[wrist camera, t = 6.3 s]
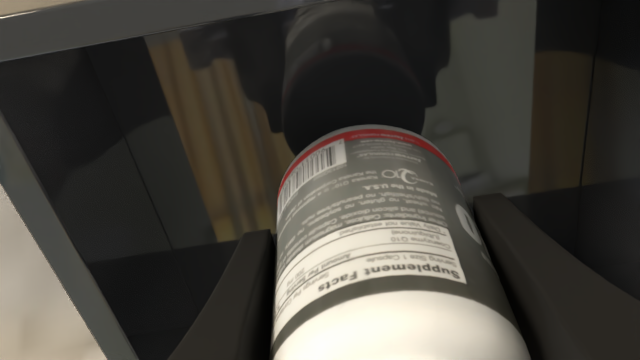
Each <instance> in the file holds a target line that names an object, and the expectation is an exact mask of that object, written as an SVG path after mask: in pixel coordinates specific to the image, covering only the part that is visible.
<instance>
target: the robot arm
mask: <svg viewBox="0 0 640 360" xmlns="http://www.w3.org/2000/svg"><path fill="white" fill-rule="evenodd" d="M473 210H474V220H475V223H476V225H477V227H478V229H479V231H480V234H481V236H482V239H483V241H484V243H485V245H486V247H487V250H488V253H489V256H490V259H491V261H492V263H493V265H494V268H495V270H496V272H497V275H498V277H499V280H500V282H501V285H502V287H503V289H504V291H505V294H506V296H507V299H508V301H509V304H510V306H511V309H512V311H513V313H514V316H515V318H516V320H517V323H518V325H519V328H520V330H521V333H522V336H523V338H524V341H525V343H526V346H527V349H528V352H529V354H530V357H531V360H640V301H639V300H637V299H635V298H634V297H632V296H630V295H629V294H627V293H626V292H624V291H622V290H621V289H619V288H618V287H616V286H614V285H613V284H611V283H610V282H608V281H607V280H605V279H604V278H603V277H601V276H600V275H598V274H597V273H595V272H594V271H593V270H591V269H590V268H589V267H587V266H586V265H585V264H583V263H582V262H580V261H579V260H578V259H577V258H575V257H574V256H573V255H571V254H570V253H569V252H568V251H566V250H565V249H564V248H563V247H561V246H560V245H559V244H558V243H557V242H555V241H554V240H553V239H552V238H551V237H549V236H548V235H547V234H546V233H545V232H543V231H542V230H541V229H540V228H539V227H538V226H537V225H535V224H534V223H533V222H532V221H531V220H530V219H529V218H528V217H527V216H525V215H524V214H523V213H522V212H521V211H520V210H519V209H518V208H517V207H516V206H515V205H514V204H513V203H512V202H511V201H510V200H508V199H507V198H506V197H505V196H504V195H503V194H501V193H493V194H487V195H481V196H474V197H473ZM274 265H275V244H274V241H273V237H272V234H271V230H270V229H265V230H259V231H252V232H246V233H244V234H243V236H242V237H241V239H240V241H239V243H238V245H237V247H236V249H235V251H234V253H233V255H232V257H231V259H230V261H229V263H228V265H227V267H226V269H225V271H224V273H223V275H222V277H221V278H220V280H219V282H218V284H217V285H216V287H215V289H214V291H213V293H212V294H211V296H210V298H209V299H208V301H207V303H206V304H205V306H204V308H203V309H202V311H201V312H200V314H199V315H198V317H197V318H196V320H195V322H194V323H193V325H192V326H191V328H190V329H189V331H188V332H187V334H186V335H185V337H184V338H183V339H182V341H181V342H180V344H179V345H178V346H177V348H176V349H175V350H174V352H173V353H172V354H171V355H170V357H169V358H168V359H167V360H269V354H270V340H271V323H272V306H273V287H274Z"/></svg>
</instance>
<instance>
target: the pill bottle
mask: <svg viewBox="0 0 640 360" xmlns="http://www.w3.org/2000/svg"><path fill="white" fill-rule="evenodd" d="M269 360H531V357H530V354H529V352H528V349H527V346H526V343H525V341H524V338H523V336H522V333H521V330H520V328H519V325H518V323H517V320H516V318H515V316H514V313H513V311H512V309H511V306H510V304H509V301H508V299H507V296H506V294H505V291H504V289H503V287H502V285H501V282H500V280H499V277H498V275H497V272H496V270H495V268H494V265H493V263H492V261H491V259H490V256H489V253H488V250H487V247H486V245H485V243H484V241H483V239H482V236H481V234H480V231H479V229H478V227H477V225H476V223H475V220H474V218H473V215H472V213H471V210H470V208H469V205H468V203H467V201H466V198H465V196H464V194H463V191H462V188H461V186H460V183H459V180H458V178H457V175H456V173H455V171H454V170H453V168H452V166H451V164H450V163H449V161H448V160H447V158H446V157H445V156H444V154H443V153H442V152H441V151H440V150H439V149H438V148H437V147H436V146H435V145H434V144H432V143H431V142H430V141H428V140H427V139H425V138H424V137H422V136H420V135H418V134H416V133H414V132H411V131H408V130H405V129H402V128H398V127H393V126H386V125H376V124H367V125H357V126H350V127H346V128H342V129H338V130H336V131H333V132H331V133H328V134H326V135H324V136H322V137H321V138H319V139H317V140H316V141H314V142H313V143H311V144H310V145H309V146H307V147H306V148H305V149H304V150H303V151H301V152H300V153H299V154H298V155H297V157H296V158H295V159H294V160H293V161H292V163H291V164H290V166H289V167H288V169H287V171H286V172H285V174H284V177H283V179H282V181H281V184H280V188H279V192H278V198H277V221H276V244H275V265H274V287H273V306H272V323H271V340H270V354H269Z"/></svg>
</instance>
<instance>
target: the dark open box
mask: <svg viewBox="0 0 640 360" xmlns="http://www.w3.org/2000/svg"><path fill="white" fill-rule="evenodd" d="M367 124H376V125H386V126H393V127H398V128H402V129H405V130H408V131H411V132H414V133H416V134H418V135H420V136H422V137H424V138H425V139H427V140H428V141H430V142H431V143H432V144H434V145H435V146H436V147H437V148H438V149H439V150H440V151H441V152H442V153H443V154H444V156H445V157H446V158H447V160H448V161H449V163H450V164H451V166H452V168H453V170H454V171H455V173H456V175H457V178H458V180H459V183H460V186H461V188H462V191H463V194H464V196H465V198H466V201H467V203H468V205H469V208H470V210H471V213H472V215H473V218H474V210H473V197H474V196H481V195H487V194H493V193H501V194H503V195H504V196H505V197H506V198H507V199H508V200H510V201H511V202H512V203H513V204H514V205H515V206H516V207H517V208H518V209H519V210H520V211H521V212H522V213H523V214H524V215H525V216H527V217H528V218H529V219H530V220H531V221H532V222H533V223H534V224H535V225H537V226H538V227H539V228H540V229H541V230H542V231H543V232H545V233H546V234H547V235H548V236H549V237H551V238H552V239H553V240H554V241H555V242H557V243H558V244H559V245H560V246H561V247H563V248H564V249H565V250H566V251H568V252H569V253H570V254H571V255H573V256H574V257H575V258H577V259H578V260H579V261H580V262H582V263H583V264H585V265H586V266H587V267H589V268H590V269H591V270H593V271H594V272H595V273H597V274H598V275H600V276H601V277H603V278H604V279H605V280H607V281H608V282H610V283H611V284H613V285H614V286H616V287H618V288H619V289H621V290H622V291H624V292H626V293H627V294H629V295H630V296H632V297H634V298H635V299H637V300H639V301H640V0H0V184H1V186H2V187H3V189H4V191H5V192H6V194H7V196H8V197H9V199H10V200H11V202H12V204H13V205H14V207H15V209H16V210H17V212H18V214H19V215H20V217H21V219H22V220H23V222H24V223H25V225H26V227H27V228H28V230H29V232H30V233H31V235H32V237H33V238H34V240H35V242H36V243H37V245H38V246H39V248H40V250H41V251H42V253H43V255H44V256H45V258H46V260H47V261H48V263H49V265H50V266H51V268H52V270H53V271H54V273H55V274H56V276H57V278H58V279H59V281H60V283H61V284H62V286H63V288H64V289H65V291H66V293H67V294H68V296H69V297H70V299H71V301H72V302H73V304H74V306H75V307H76V309H77V311H78V312H79V314H80V316H81V317H82V319H83V320H84V322H85V324H86V325H87V327H88V329H89V330H90V332H91V334H92V335H93V337H94V339H95V340H96V342H97V343H98V345H99V347H100V348H101V350H102V352H103V353H104V355H105V357H106V358H107V360H167V359H168V358H169V357H170V355H171V354H172V353H173V352H174V350H175V349H176V348H177V346H178V345H179V344H180V342H181V341H182V339H183V338H184V337H185V335H186V334H187V332H188V331H189V329H190V328H191V326H192V325H193V323H194V322H195V320H196V318H197V317H198V315H199V314H200V312H201V311H202V309H203V308H204V306H205V304H206V303H207V301H208V299H209V298H210V296H211V294H212V293H213V291H214V289H215V287H216V285H217V284H218V282H219V280H220V278H221V277H222V275H223V273H224V271H225V269H226V267H227V265H228V263H229V261H230V259H231V257H232V255H233V253H234V251H235V249H236V247H237V245H238V243H239V241H240V239H241V237H242V236H243V234H244V233H246V232H252V231H259V230H265V229H270V230H271V234H272V237H273V241H274V244H276V221H277V198H278V192H279V188H280V184H281V181H282V179H283V177H284V174H285V172H286V171H287V169H288V167H289V166H290V164H291V163H292V161H293V160H294V159H295V158H296V157H297V155H298V154H299V153H300V152H301V151H303V150H304V149H305V148H306V147H307V146H309V145H310V144H311V143H313V142H314V141H316V140H317V139H319V138H321V137H322V136H324V135H326V134H328V133H331V132H333V131H336V130H338V129H342V128H346V127H350V126H357V125H367Z"/></svg>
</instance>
